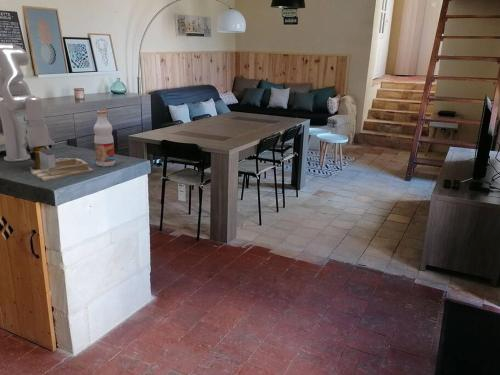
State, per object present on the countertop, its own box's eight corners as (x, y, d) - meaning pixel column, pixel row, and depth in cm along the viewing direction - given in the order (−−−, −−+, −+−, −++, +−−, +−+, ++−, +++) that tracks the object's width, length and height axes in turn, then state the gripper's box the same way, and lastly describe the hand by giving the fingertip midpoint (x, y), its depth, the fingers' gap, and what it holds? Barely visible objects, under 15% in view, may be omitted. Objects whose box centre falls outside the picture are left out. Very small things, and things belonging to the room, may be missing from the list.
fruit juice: (98, 162, 231) (94, 109, 222) (116, 162, 232) (113, 109, 223) (94, 166, 222) (89, 112, 213) (112, 167, 223) (109, 112, 214)
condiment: (50, 169, 215) (47, 145, 211) (31, 171, 211) (28, 147, 207) (47, 165, 221) (44, 142, 217) (29, 167, 216) (26, 144, 213)
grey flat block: (41, 170, 208) (38, 149, 205) (47, 169, 210) (45, 148, 207) (49, 175, 201) (47, 153, 198) (56, 174, 203) (54, 152, 200)
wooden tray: (30, 173, 208) (29, 164, 206) (79, 165, 224) (78, 157, 223) (43, 180, 197) (42, 172, 196) (93, 171, 213) (93, 163, 212)
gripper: (19, 126, 201) (24, 163, 206) (57, 122, 213) (60, 157, 218) (14, 123, 206) (19, 160, 211) (51, 120, 218) (54, 155, 223)
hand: (40, 158), depth 215 cm, fingers closed on condiment, 6 cm apart
